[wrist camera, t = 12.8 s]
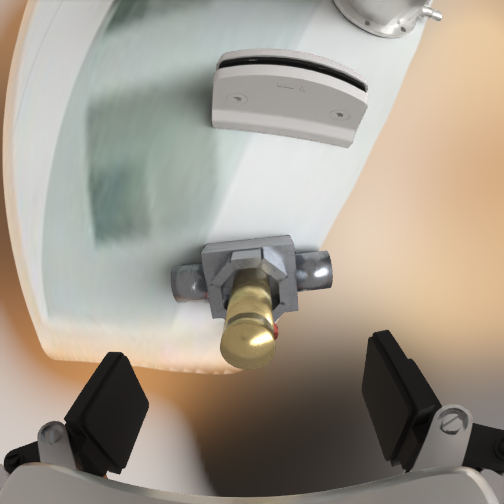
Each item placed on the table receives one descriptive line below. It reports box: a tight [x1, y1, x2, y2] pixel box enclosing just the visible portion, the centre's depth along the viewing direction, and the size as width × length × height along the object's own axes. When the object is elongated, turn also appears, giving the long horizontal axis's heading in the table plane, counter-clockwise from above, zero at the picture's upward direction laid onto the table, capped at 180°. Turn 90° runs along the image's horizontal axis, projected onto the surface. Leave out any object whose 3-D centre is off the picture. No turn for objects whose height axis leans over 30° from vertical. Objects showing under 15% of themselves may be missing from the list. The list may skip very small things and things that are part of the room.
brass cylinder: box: [220, 267, 275, 370], centre depth 25 cm, size 4×4×12 cm
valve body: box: [171, 235, 333, 340], centre depth 32 cm, size 18×12×7 cm, turn 96°
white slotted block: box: [212, 49, 369, 148], centre depth 25 cm, size 17×5×10 cm, turn 83°
